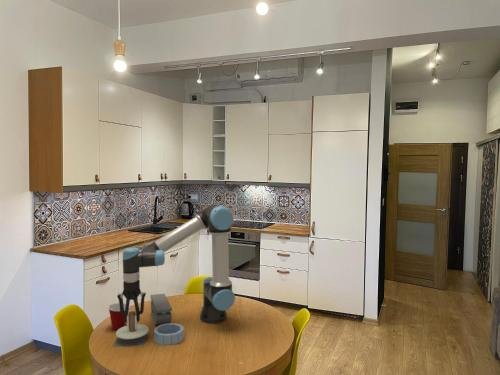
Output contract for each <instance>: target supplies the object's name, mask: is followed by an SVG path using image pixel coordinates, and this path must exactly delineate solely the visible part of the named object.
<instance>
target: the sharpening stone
mask: <svg viewBox="0 0 500 375" xmlns="http://www.w3.org/2000/svg"><path fill="white" fill-rule="evenodd" d="M150 312H151V319H153V320H152V322H153V325H154V326H159V325H162V324H166V323H171V321H172V317H173V316H172V312H173V307H172V305H171V303H170V302H169V300H168V298H167V295H166V294H165V293H157V294H150Z"/></svg>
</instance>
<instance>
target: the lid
mask: <svg viewBox="0 0 500 375" xmlns="http://www.w3.org/2000/svg"><path fill="white" fill-rule="evenodd" d="M128 314H129V330H127V325H125V326H124V327H122V328H120V329H118V330H116V332H115V335H116V338H121V339H135V338H139V337H142V336H144V335H146V334H147V333H148V334H149V326H147V325H146V324H142V323H140V324H139V323H138V327H137V329H135V315H136V310H135V311H134V310H132V311H128Z"/></svg>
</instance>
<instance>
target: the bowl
mask: <svg viewBox="0 0 500 375" xmlns="http://www.w3.org/2000/svg"><path fill="white" fill-rule="evenodd" d="M184 328H185V327H184V326H183V325H182V324H180V323H176V322H174V323H173V322H172V323H171V322H170V323H166V324H161V325H156V327H154V330H153V341H154V342H155V343H156V344H157V345H162V346H171V345H174V344H175V345H179V344H181V343H182V342H183V341H184V338H185V336H184V335H185V334H184V332H185V329H184Z"/></svg>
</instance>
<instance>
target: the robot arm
mask: <svg viewBox="0 0 500 375" xmlns="http://www.w3.org/2000/svg"><path fill="white" fill-rule="evenodd" d="M233 223H234V214H233V212H232V211H231V210H230V208H228V207H226V206H224V205H220V204H210V205H209V206H207V207H205V208H204V209H202V210H200V211H199V212H197V213H195V216H194V217H193V218H191V219H189V220H188V221H186V222H184V223H183V224H181V225H180V226H178V227H176V228H175V229H173V230H171V231H170V232H167V233H166V234H165V235H163V236H161V237H160V238H158V239H156V240H155V241H153V242H152V243H150V244H144V246H143V247H142V248H141V251H140V248H138V247H126V248H125V249H123V251H122V280H123V284H122V287H123V289H122V290H123V291H122V292H121V293H118V294H117V296H116V297H117V300H118V303H119V305H120V313H121V315H124V316H125V323H126V326H127V330H129V309H130V308H129V306H130V302H131V301H133V303H134V310H135V329H137V327H138V324H139V323H138V322H140V320H141V319H140V317H141V316H140V315H143V313H144V310H145V298H146V294H147V293H146V292H143V291H142V290H141V287H140V284H141V283H140V279H141V278H140V268H149V267H159V266H160V267H161V266H163V265H165V258H166V256H165V253H166V252H167V251H168V250H169V251H170V249H172V248H174V247H175V246H177V245H178V244H180V243H182V242H183V241H185V240H187V239H188V238H189V237H191V236H193V235H194V234H196V233H197V232H199V231H201V230H203V229H204V230H206V229H208V233H209V234H210V235H211V261H212V262H211V264H212V265H211V266H212V276H208V277H205V278H204V279H203V284H202V285H203V290H202V291H203V298H202V299H203V300H202V301H203V302H202V304H203V305H202V308H201V309H200V310H201V311H200V314H199V319H200V321H201V322H204V323H208V324H218V323H222V322H225V321H226V320H227V318H228V313H227V310H230V308H231V307H232V306H234V304H235V299H236V295H235V293H234V292H233V283H232V282H233V281H231V280H230V267H229V266H230V265H229V263H230V262H229V257H230V256H229V234H230V233H231V232H232V225H233ZM139 296H140V306H139V301H138V299H139ZM123 297H124V298H125V300H126V301H125V304H126V307H125V311H124V305H123V303H124V298H123Z"/></svg>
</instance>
